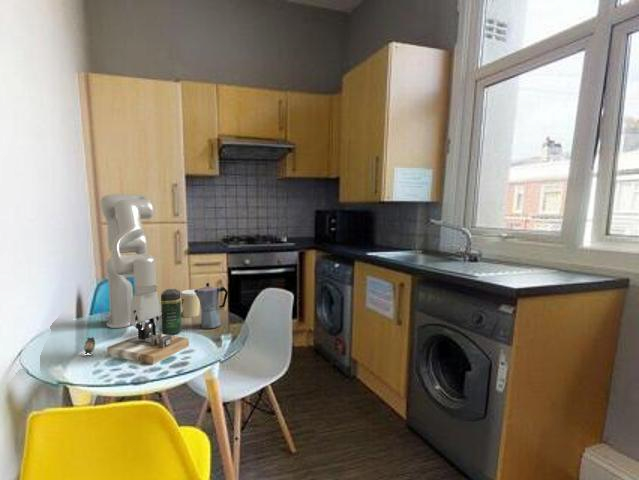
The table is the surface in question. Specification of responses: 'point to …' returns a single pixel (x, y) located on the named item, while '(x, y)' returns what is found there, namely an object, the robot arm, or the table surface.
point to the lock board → (148, 348)
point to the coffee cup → (190, 303)
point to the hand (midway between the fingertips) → (147, 336)
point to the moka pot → (210, 305)
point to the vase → (89, 346)
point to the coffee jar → (171, 312)
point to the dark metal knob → (149, 334)
